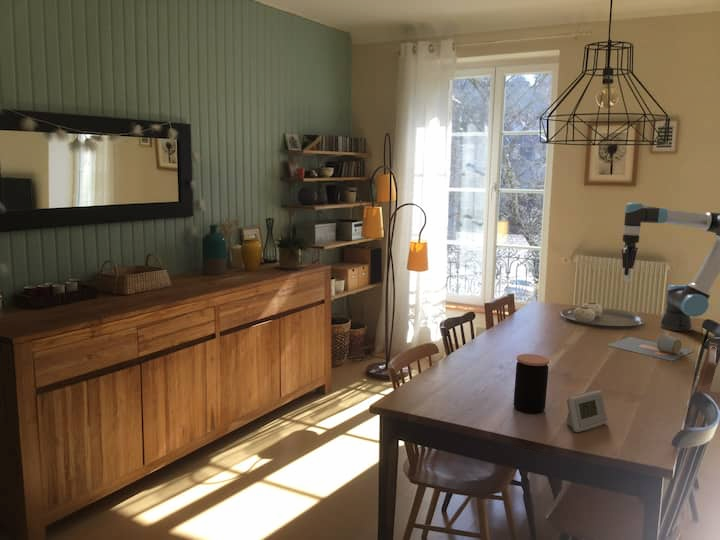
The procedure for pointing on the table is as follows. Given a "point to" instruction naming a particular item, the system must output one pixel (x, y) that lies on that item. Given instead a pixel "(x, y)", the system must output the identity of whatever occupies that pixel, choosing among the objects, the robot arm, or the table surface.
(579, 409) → the digital clock
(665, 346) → the ceramic mug
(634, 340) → the t mat
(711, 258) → the robot arm
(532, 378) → the coffee jar
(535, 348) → the table surface
